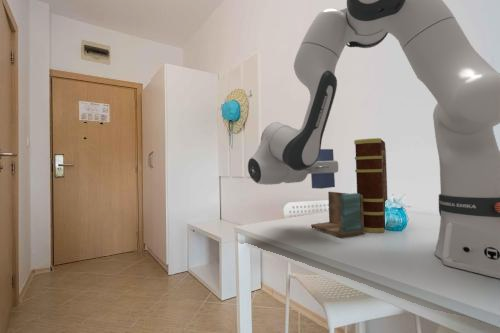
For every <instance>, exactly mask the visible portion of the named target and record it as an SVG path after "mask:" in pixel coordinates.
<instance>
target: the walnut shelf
mask: <svg viewBox="0 0 500 333" xmlns="http://www.w3.org/2000/svg"><path fill="white" fill-rule="evenodd" d="M327 194H328V195H327V196H328V218H329V219H328V220H329V221H327V222H319V223H312V224H310V225H311V226H310V228H311V227H312V228H311V229H313V228H314V230H316V229H317V231H319V230H320V232H322V233H326V234H329V235H331V236H334V237H337V238H341V239H343V238H349V237H355V236H359V235H360V236H361V235H364V234H365V232H364V216H363V195H360V194H358V193H357V192H353V193H345V192H337V191H328V193H327Z"/></svg>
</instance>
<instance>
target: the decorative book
mask: <svg viewBox="0 0 500 333" xmlns="http://www.w3.org/2000/svg"><path fill="white" fill-rule="evenodd" d="M353 144H354V145H355V147H354V148H355V157H354V160H355V170H354V171H355V174H356V175H355V176H356V193H358V194H360V195H363V216H364V233H373V234H374V233H375V234H379V233H380V234H381V233H384V232H385V230H386V227H385V201H386V200H388V177H387V170H388V169H387V150H386V148H387V147H386V142H385V141H384V140H383V139H382V138H381V137H380V138H379V137H378V138H377V137H376V138H374V137H373V138H362V139H361V138H360V139H355V140H353Z"/></svg>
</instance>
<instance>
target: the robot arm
mask: <svg viewBox="0 0 500 333" xmlns="http://www.w3.org/2000/svg"><path fill="white" fill-rule="evenodd" d="M388 34H390V35H392V36H393V37H394V38H395V39H396V40H397V41H398V43H399V45H400V47H401V50H402V51H403V53H404V56H405V57H406V59H407V61H408V63H409V64H410V66H411V69H412V71H413V72H414V74H415V76H416V78H417V79H418V80H419V81H420V82H422V83H423V85H424V86H425V87H426V89H427V90H428V91H429V92H430V93H431V95H432V97H434V99H435V100H436V102H437V104H436V105H435V106H434V109H433V114H432V120H433V128H434V134H435V136H434V137H435V143H436V149H437V153H438V154H437V155H438V160H439V178H440V181H439V182H440V194H438V212H439V216H440V221H439V222H440V223H439V229H438V230H439V231H438V238H437V241H436V242H437V243H436V245H435V249H434V250H433V251H434V252H433V253H434V255H435V256H436V257H437V258H438V259H440V260H441V262H442V264H443V265H445V266H448V267H452V268H456V269H460V270H463V271H467V272H472V273H476V274H480V275H483V276H487V277H492V278H496V279H500V149H499V145H498V142H497V140H496V139H497V138H496V135H495V132H494V127H496V126H498V125H499V124H500V72H498V71H496V69H494V68H493V67H492V65H491V64H489V63H488V62H487V61H486V60H485V59H484V58H483V57H482V56H481V55H480V54H479V53H478V51H476V49H475V48H474V47H473V45H472V44H471V43H470V40H469V39H468V37H467V36H466V34H465V32H464V30H463V29H462V27H461V26H460V24H459V22H458V21H457V19H456V17H455V16H454V14H453V12H452V11H451V9H450V8H449V7H448V6H447V4H446V3H445V1H444V0H346V7H345V8H343V9H338V8H325V9H323V10H321V11H320V12H319V13H318V14H317V15H316V17H315V18H314V20H312V23H311V24H310V26H309V27H308V29H307V31H306V33H305V35H304V37H303V38H302V41H301V44H300V46H299V48H298V51H297V52H296V56H295V58H294V63H293V70H294V73H295V76H296V77H297V79H298V81H299V82H301V84H302V85H304V87H306V88H307V89H308V92H309V97H310V98H309V103H308V105H307V109H306V113H305V116H304V118H303V121H302V122H303V123H302V125H301V127H300V129H296V128H294V127H291V126H290V125H286V124H284V123H281V122H277V121H276V122H272V123H270V124H269V125H267V126H266V127H265V128H264V130H263V131H262V133H261V137H260V143H259V145H258V148H257V150H256V151H255V153H254V154H253V155H252V156H251V157H250V158H249V160H248V163H247V171H248V174H249V176H250V178H251V179H252V181H254V183H256V184H258V185H270V186H271V185H280V184H282V183H284V184H293V183H294V184H295V183H301V182H303V181H305V179H306V178H307V176H308V175H309V174H321V173H334V174H335V173H338V172H339V163H338V160H334V161H317V159H318V157H319V154H320V149H322V147H321V146H322V140H323V136H324V133H325V130H326V127H327V123H328V120H329V116H330V113H331V111H332V106H333V103H334V100H335V96H336V92H337V89H338V88H337V86H338V80H337V77H336V75H335V73H336V67H337V64H338V62H339V60H340V57H341V55H342V52H343V51H344V48H345V47H346V46H347V47H349V48H360V49H361V48H362V49H370V48H374V47H376V46H378V45H379V44H380V43H381V42H383V41H384V40H385V38H386V37H387V35H388Z"/></svg>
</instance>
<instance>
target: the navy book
mask: <svg viewBox="0 0 500 333" xmlns="http://www.w3.org/2000/svg"><path fill="white" fill-rule="evenodd" d="M334 159H335V158H334V149H333V148H326V149H325V148H321V149H320V154H319V157H318V159H317V161H335V160H334ZM310 176H311V177H310V178H311V188H312V189H322V190H323V189H330V188H336V181H335V173H321V174H311V175H310Z"/></svg>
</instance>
